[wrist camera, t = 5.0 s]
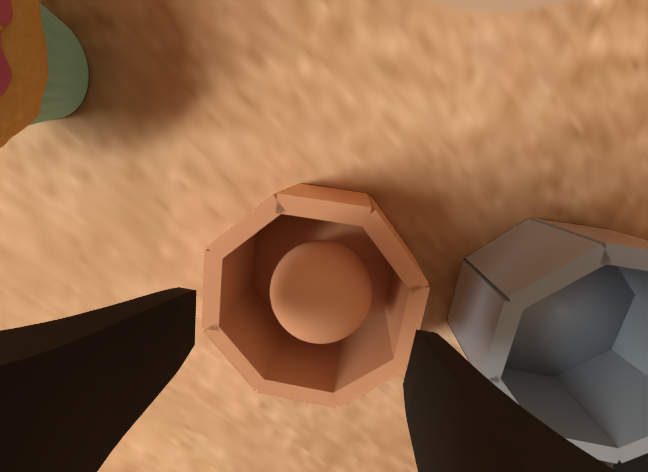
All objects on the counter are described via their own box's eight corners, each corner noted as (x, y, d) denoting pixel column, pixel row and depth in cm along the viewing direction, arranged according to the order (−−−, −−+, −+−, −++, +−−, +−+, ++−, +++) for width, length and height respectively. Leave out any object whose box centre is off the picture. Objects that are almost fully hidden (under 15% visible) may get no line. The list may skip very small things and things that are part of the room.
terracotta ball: (355, 314, 16) (371, 372, 12) (271, 306, 16) (258, 362, 12) (369, 234, 15) (393, 266, 11) (280, 224, 15) (268, 252, 11)
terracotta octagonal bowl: (387, 353, 17) (397, 420, 13) (239, 325, 17) (199, 380, 13) (420, 201, 15) (446, 218, 10) (249, 175, 15) (207, 182, 11)
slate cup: (598, 391, 16) (687, 477, 12) (436, 361, 17) (463, 433, 12) (665, 237, 14) (803, 272, 10) (476, 209, 15) (526, 231, 10)
